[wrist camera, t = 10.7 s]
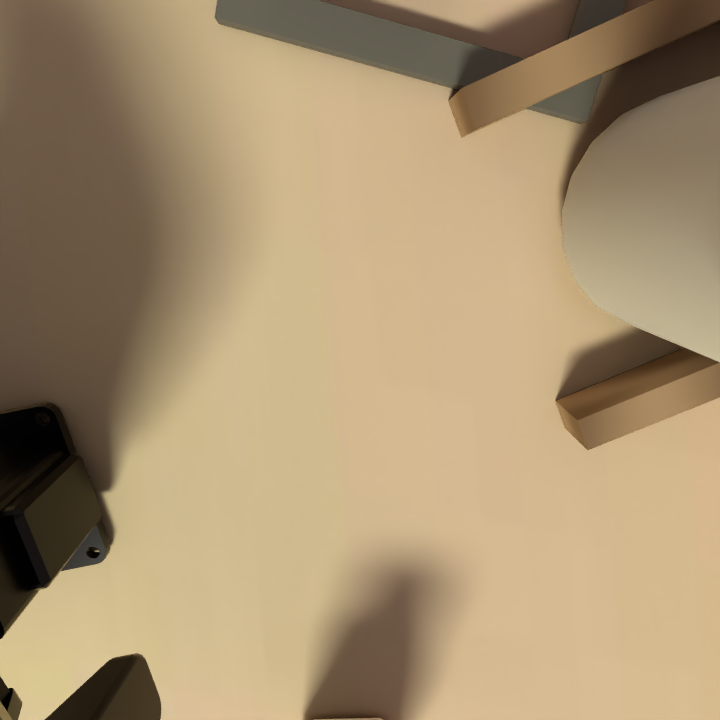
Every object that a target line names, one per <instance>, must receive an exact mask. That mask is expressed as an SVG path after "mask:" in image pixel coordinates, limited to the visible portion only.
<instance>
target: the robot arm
mask: <svg viewBox="0 0 720 720" xmlns="http://www.w3.org/2000/svg"><path fill="white" fill-rule="evenodd" d="M41 413H45V414H47V415H48V416H49V418H50V422H46V421H44V420H43V419H42V417H41ZM101 516H102V512H101V509H100V506H99V503H98V501H97V498H96V495H95V493H94V490H93V487H92V484H91V482H90V479H89V476H88V473H87V471H86V468H85V465H84V462H83V460H82V458H81V457H80V456H79V455H78V454H77V453H76V450H75V448H74V445H73V442H72V440H71V437H70V434H69V431H68V429H67V426H66V423H65V421H64V418H63V415H62V412H61V411H60V409H59V408H58V407H57V406H56V405H54V404H52V403H39V404H34V405H29V406H24V407H20V408H15V409H10V410H5V411H0V639H1V638H3V636H4V635H5V634H6V632H7V631H8V630H9V629H10V627H11V626H12V625H13V623H14V622H15V621H16V620H17V618H18V617H19V616H20V615H21V613H22V612H23V611H24V609H25V608H26V607H27V606H28V604H29V603H30V602H31V600H32V599H33V598H34V597H35V595H36V594H37V593H38V591H39V590H40V589H44V588H47V587H48V586H49V585H50V584H51V583H52V581H53V580H54V579H55V578H56V576H57V575H58V574H59V572H60V571H64V570H69V569H74V568H79V567H84V566H89V565H94V564H98V563H100V562H102V561H103V560H104V559H105V558H106V556H107V555H108V553H109V551H110V543H109V540H108V538H107V535H106V532H105V529H104V527H103V524H102V521H101V519H100V518H101ZM91 547H95V548H97V549H98V550H99V551H100V552H95V551H93V550H92V549H91ZM21 707H22V701H21V700H20V698H19V696H18V695H17V693H16V692H15V690H14V689H13V688H7V686H6V685H5V683H4V681H3V680H2V678H1V677H0V720H18V718H19V714H20V710H21ZM160 718H161V702H160V697H159V694H158V691H157V689H156V686H155V683H154V680H153V678H152V675H151V672H150V670H149V667H148V664H147V662H146V660H145V658H144V657H143V656H142V655H141V654H138V653H136V654H130V655H125V656H120V657H116V658H113V659H111V660H109V661H108V662H107V663H106V664H105V665H103V666H102V667H101V668H100V669H99V670H98V671H97V672H96V673H95V674H94V675H93V676H92V677H91V678H89V679H88V680H87V681H86V682H85V683H84V684H83V685H82V686H81V687H80V688H79V689H78V690H76V691H75V692H74V693H73V694H72V695H71V696H70V697H69V698H68V699H67V700H66V701H65V702H64V703H62V704H61V705H60V706H59V707H58V708H57V709H56V710H55V711H54V712H53V713H52V714H51V715H49V716H48V717H47V718H46V719H45V720H160Z"/></svg>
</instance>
